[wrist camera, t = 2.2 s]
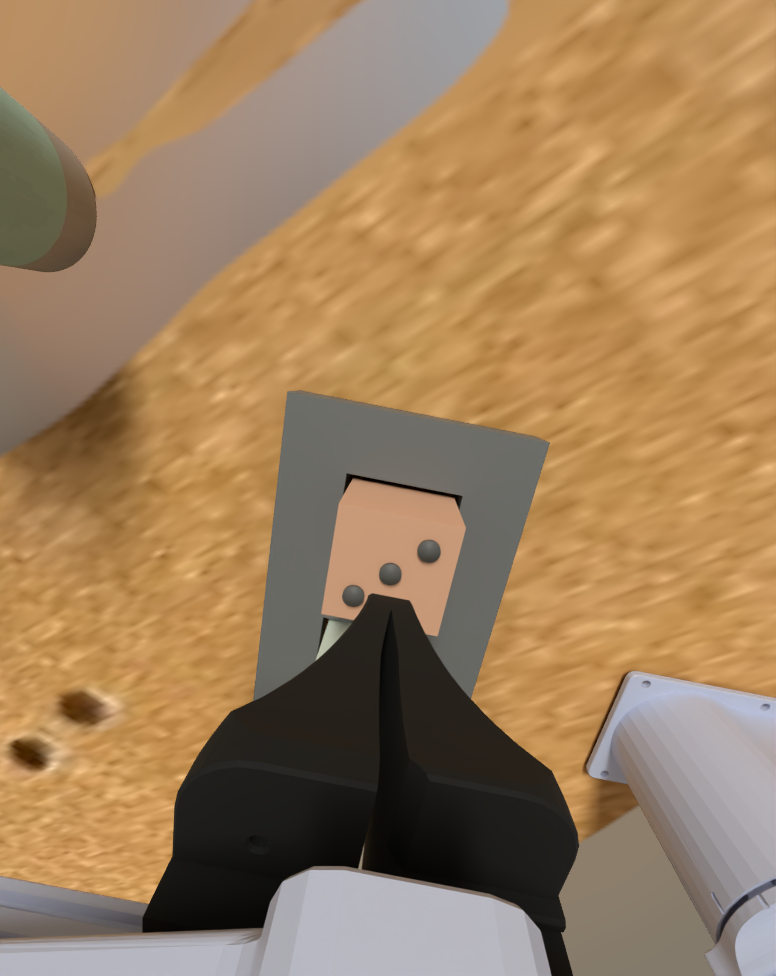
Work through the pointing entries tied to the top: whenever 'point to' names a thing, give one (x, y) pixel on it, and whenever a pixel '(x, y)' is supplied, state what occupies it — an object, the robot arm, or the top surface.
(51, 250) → the coffee cup
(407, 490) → the key three
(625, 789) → the top surface
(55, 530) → the top surface
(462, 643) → the keypad board
